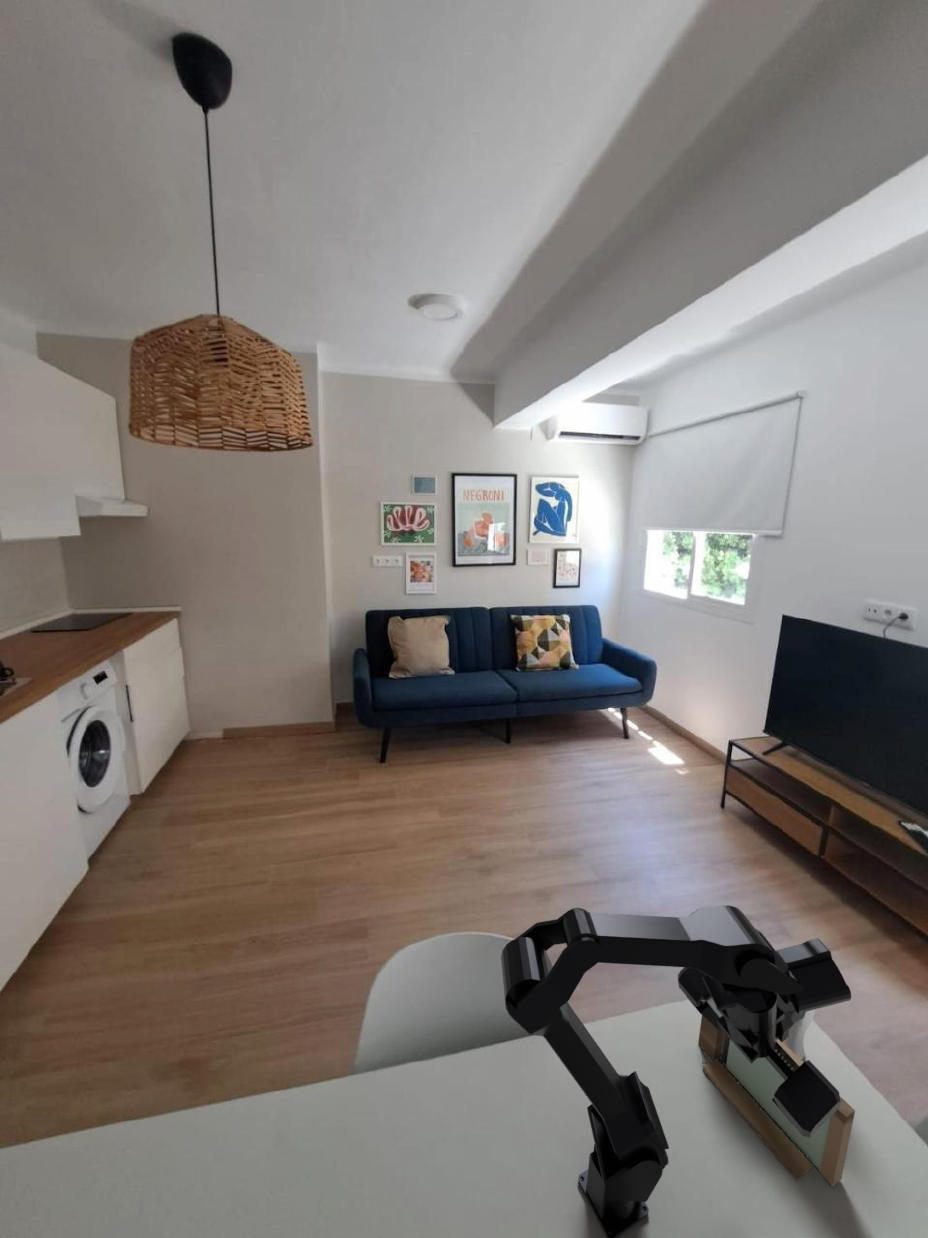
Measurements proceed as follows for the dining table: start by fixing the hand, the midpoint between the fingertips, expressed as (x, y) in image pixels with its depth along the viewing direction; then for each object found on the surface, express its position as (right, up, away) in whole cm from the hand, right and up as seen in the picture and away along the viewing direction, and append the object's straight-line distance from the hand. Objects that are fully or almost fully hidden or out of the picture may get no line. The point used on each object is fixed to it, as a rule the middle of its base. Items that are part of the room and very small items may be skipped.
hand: (750, 1062), depth 66 cm
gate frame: (+5, -14, +9) cm, 17 cm away
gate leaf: (+8, -14, +6) cm, 17 cm away
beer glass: (+16, -13, +17) cm, 27 cm away
